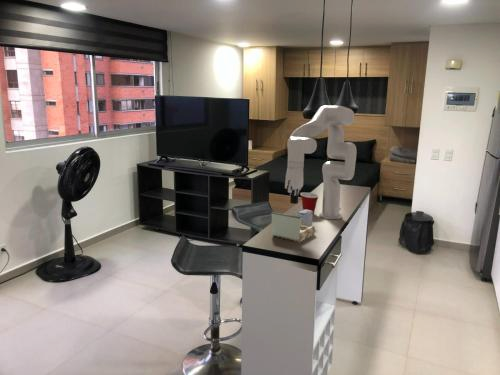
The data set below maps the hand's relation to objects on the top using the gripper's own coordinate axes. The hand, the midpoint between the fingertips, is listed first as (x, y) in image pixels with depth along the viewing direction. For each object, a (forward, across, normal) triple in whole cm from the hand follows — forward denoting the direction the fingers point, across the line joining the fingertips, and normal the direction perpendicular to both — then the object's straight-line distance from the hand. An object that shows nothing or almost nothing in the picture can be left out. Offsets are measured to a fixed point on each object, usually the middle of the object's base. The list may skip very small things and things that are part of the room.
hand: (294, 203), depth 195 cm
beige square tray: (+16, -1, 0) cm, 16 cm away
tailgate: (+15, +6, 0) cm, 16 cm away
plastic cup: (+16, -40, -12) cm, 44 cm away
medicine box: (+16, -16, -2) cm, 23 cm away
